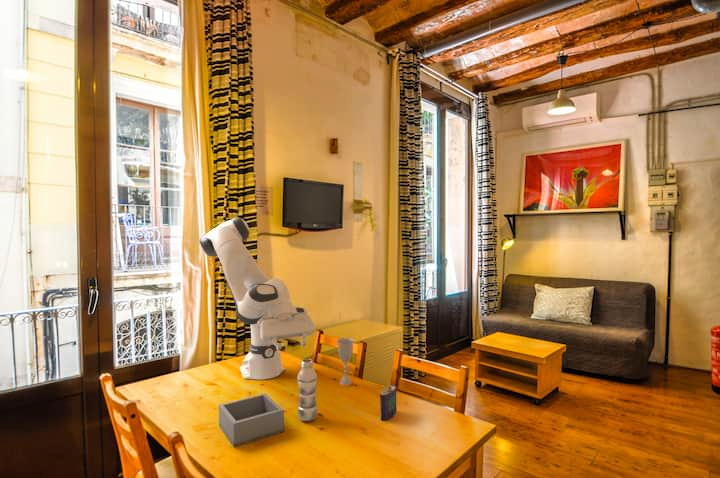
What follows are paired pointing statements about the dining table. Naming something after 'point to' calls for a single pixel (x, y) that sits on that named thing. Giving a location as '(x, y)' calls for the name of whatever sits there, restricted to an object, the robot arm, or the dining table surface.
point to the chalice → (345, 356)
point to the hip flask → (388, 403)
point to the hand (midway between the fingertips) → (292, 347)
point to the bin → (250, 419)
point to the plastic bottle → (307, 391)
